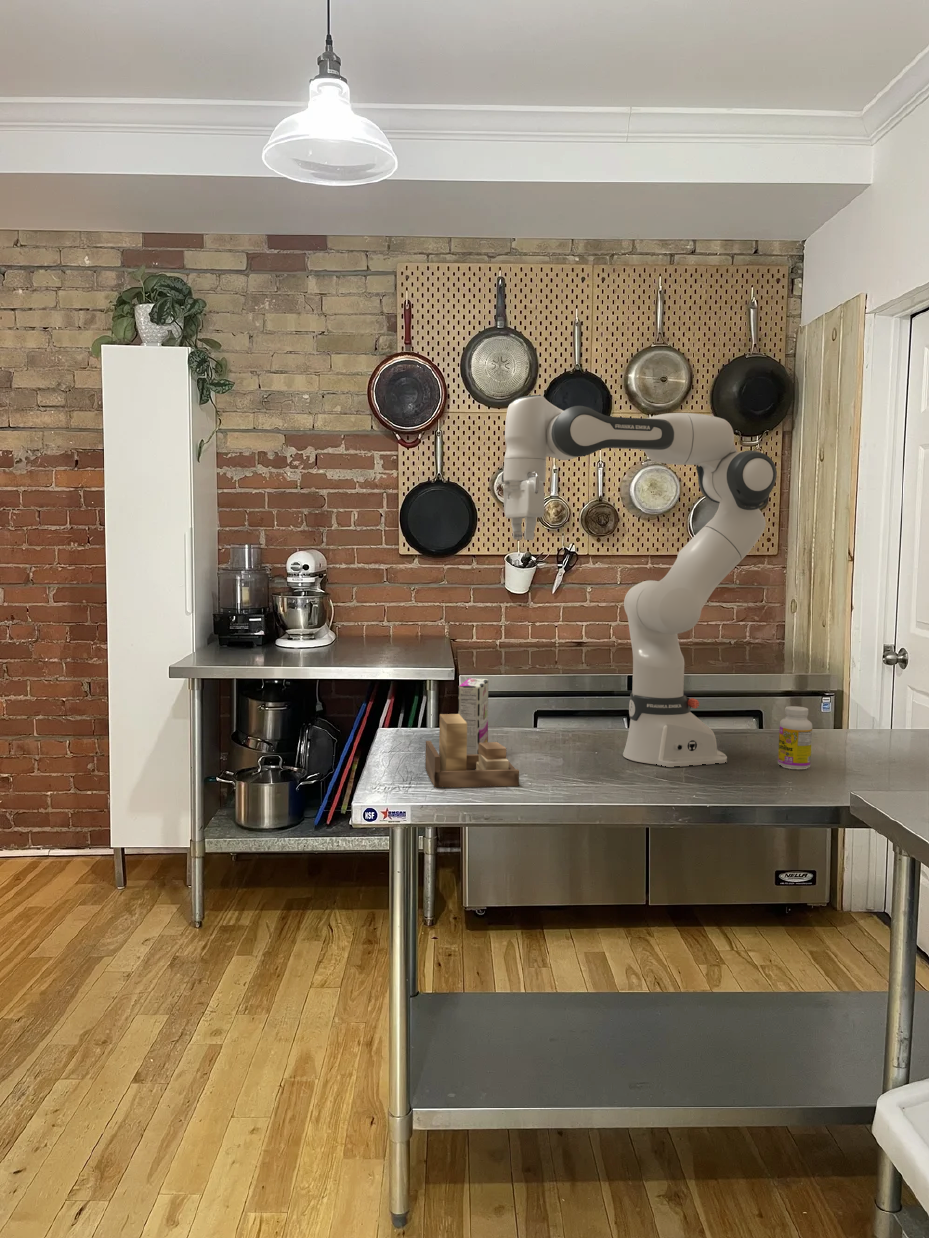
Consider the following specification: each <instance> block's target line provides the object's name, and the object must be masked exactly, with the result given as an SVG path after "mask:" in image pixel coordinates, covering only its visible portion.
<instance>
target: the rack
mask: <svg viewBox="0 0 929 1238" xmlns="http://www.w3.org/2000/svg"><path fill="white" fill-rule="evenodd" d="M424 759H425V761H424V762H425V767H424V768H425V769H426V770H425V771H427V772H426V774H427V776H428V778H429V780H430V782H431V784H432V783H433V784H432V786H433V785H434V786H433V788H434V787H447V788H475V787H476V788H479V787H481V788H483V787H517V786H518V787H519V785H520V770H519V769H518V768H515V767H514V765H513V764H512V763H511V762H510V761H509V769H508V770H476V762H479V754H467V761H466V770H462V771H440V756H439V751H437V749H436V747H435V746H434V744H433V743H432V740H426V741H425V758H424Z"/></svg>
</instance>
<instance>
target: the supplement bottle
mask: <svg viewBox="0 0 929 1238" xmlns="http://www.w3.org/2000/svg"><path fill="white" fill-rule="evenodd" d="M784 713H785V717H784V718H782V719H781V720H780V721H779V732H778V733H779V734H778V735H779V736H778V753H777V765H778V764H779V765H781V766H785V767H791V768H806V767H811V761H812V760H811V759H812V758H811V757H812V739H813V723H812V721H810V720H809V719H808V715H809V708H807V707H804V706H791V705H789V706H786V707H785V708H784ZM779 765H778V766H779Z"/></svg>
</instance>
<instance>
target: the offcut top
mask: <svg viewBox="0 0 929 1238" xmlns="http://www.w3.org/2000/svg"><path fill="white" fill-rule="evenodd" d="M478 753H480V754H481V755H482V756H483V757H485V758H486V759H502V758H507V748H506V747H505V746H504V745H503V744H501V743H499V742H498V741H493V742H492V741H491V742H490V741H488V742H485V743H478Z"/></svg>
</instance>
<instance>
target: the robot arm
mask: <svg viewBox="0 0 929 1238" xmlns="http://www.w3.org/2000/svg"><path fill="white" fill-rule="evenodd" d="M504 426H505V427H504V441H505V445H506V448H505V449H506V450H505V454H504V459H503V460H504V461H503V471H502V473H501V476H500V477H501V478H500V483H501V485H503V512H504V516H505V519H509V520H510V519H511V520H510V521H511V522H510V523H511V529H512V539H513V540H515V541H517V540H519V541H520V540H522V539H523V540H526V541H533V540H534V538H535V531H536V530H535V529H536V526H537V518H542V517H544V514H545V486H544V483H546V478H547V477H546V474H547V473H546V472H547V457H549V458H553V459H555V460H556V459H557V460H560V461H567V460H572V459H576V458H579V457H586V456H589V455H591V454H593V453H596V452H599V451H600V450H603V449H621V450H622V449H623V450H638V451H643V452H644V453H645V455H646V456H647V458H648V459H649V460H651V461H652V462H657V463H661V464H664V465H666V464H667V465H674V466H675V465H677V466H682V465H683V466H686V465H687V466H688V465H690V466H696V468H695V469H696V473H697V482H698V487H699V490H700V492H701V493H702V495H703V496H704V497H705V498H706V499H708V500H709V501H710V502H713V503H716V504H718V508H717V511H716V512H715V514H714V515H713V517H712V518H711V519H710V520H708V522H706V524H705V525H704V526H703V527H702V528H701V529H700V530H699V531H697V532H696V533H695V535H694V536H693V537H692V538H691V539H690V540H688V542H687V543H686V544H685V545H684V546H683V547H682V548H681V549H680V550H679V551H678V554H677V556H676V557H677V558H676V559H675V561H674V563H673V564H672V566H671V568H670V569H669V570H668V572H667V573H666V574H665V576H664V577H663V578H662V579H660V580H652V579H650V580H645V581H642V582H641V581H640V582H639V583H637V584H635V585H633V586H631V588H630V589H629V590H628V591H627V592H626V594H625V597H624V600H623V608H624V612H625V614H626V616H627V622H628V629H629V638H630V642H631V649H632V685H631V686H632V691H631V692H630V697H629V703H628V704H629V706H628V709H629V710H628V714H629V719H630V720H629V727H628V733H627V738H626V743H625V747H624V749H623V753H622V756H623V757H624V758H625V759H628V760H630V761H633V762H638V763H644V764H650V765H656V764H657V765H656V766H661V765H662V767H665V766H666V768H675V767H674V766H680V767H689V765H693V766H702V764H706V765H716V764H715V763H719V764H726V763H728V756H727V755H726V754H725V753H724V752H722V751H720V750H718V745H717V739H716V735H715V733H714V731H713V730H712V729H711V728H710V727H709V725H707V724H705V723H704V721H702V720H701V719H699V718H698V717H697V716H696V715H695V714H694V713H692V712H691V708H692V709H694V710H695V709H697V708H699V706H700V701H699V700H698V699H695V698H689V697H688V696H687V695H685V694H684V686H685V685H684V683H685V681H684V680H685V658H684V657H685V656H684V655H683V653H682V651H681V647H680V643H679V635H678V634H682V633H686V632H689V631H690V630H692V629H693V628H694V627H695V626H696V625H697V624H698V622H699V621H700V618H701V614H702V610H703V608H704V606H705V604H706V603H707V601H708V600H709V598H710V597H711V595H712V593H713V592H714V591H715V589H716V588H717V587H718V585H720V583H721V582H722V581H723V580H724V579H725V578H726V577H727V576H728V575H729V574H730V573H732V571H733V570H734V569H735V567H737V565H739V563H741V561H742V560H744V558H745V557H746V556H747V555H748V554H749V553H750V551H752V549H753V548H754V546H755V545H756V543H758V541H759V539H760V538H761V536H762V535H763V533H764V531H765V529H766V525H767V522H766V518H765V515H764V513H763V512H762V511H761V508H763V507H765V506H766V505H767V503H768V501H769V497H770V494H771V492H772V491H773V489H774V487H775V484H776V481H777V476H778V473H777V467H776V464H775V462H774V460H773V459H772V458H771V457H769V456H768V455H767V454H766V453H763V452H761V451H759V450H758V451H757V450H744V451H738V449H737V448H736V446H735V434H734V429H733V427H732V425H731V424H730V422H728V420H726V419H725V418H721V417H718V416H713V415H709V414H704V413H703V414H702V413H695V412H694V413H692V412H691V413H690V412H669V413H661V414H658V415H657V414H656V415H652V416H650V417H645V418H643V417H621V416H609V415H605V414H603V413H601V412H598V411H597V410H594V409H593V408H591V407H588V406H585V405H584V406H583V405H574V406H571V407H569V408H566V409H565V410H563V409H561V408H559V407H557V406H556V405H555V404H552V403H551V402H549V401H548V400H547V399H546V397H545V396H544V395H539V394H534V395H533V394H531V395H526V396H525V395H524V396H520V397H517V398H515V399H514V400H512V401H511V402H510V403H509V405H508V407H507V410H506V417H505V425H504ZM523 519H524V523H525V527H524V531H523V530H522V529H523V528H522V524H523ZM725 762H726V763H725Z"/></svg>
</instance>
